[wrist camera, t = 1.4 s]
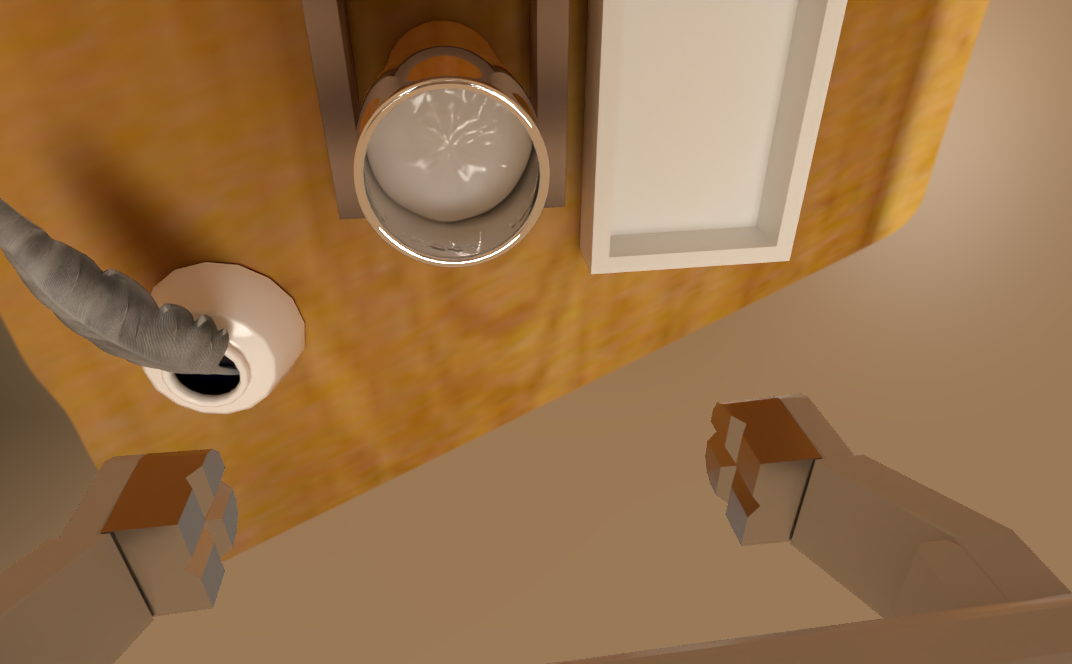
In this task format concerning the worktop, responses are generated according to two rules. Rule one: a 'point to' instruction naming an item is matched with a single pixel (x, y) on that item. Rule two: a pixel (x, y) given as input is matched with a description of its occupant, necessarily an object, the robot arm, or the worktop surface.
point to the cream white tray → (700, 128)
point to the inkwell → (168, 319)
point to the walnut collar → (343, 108)
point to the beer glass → (449, 150)
